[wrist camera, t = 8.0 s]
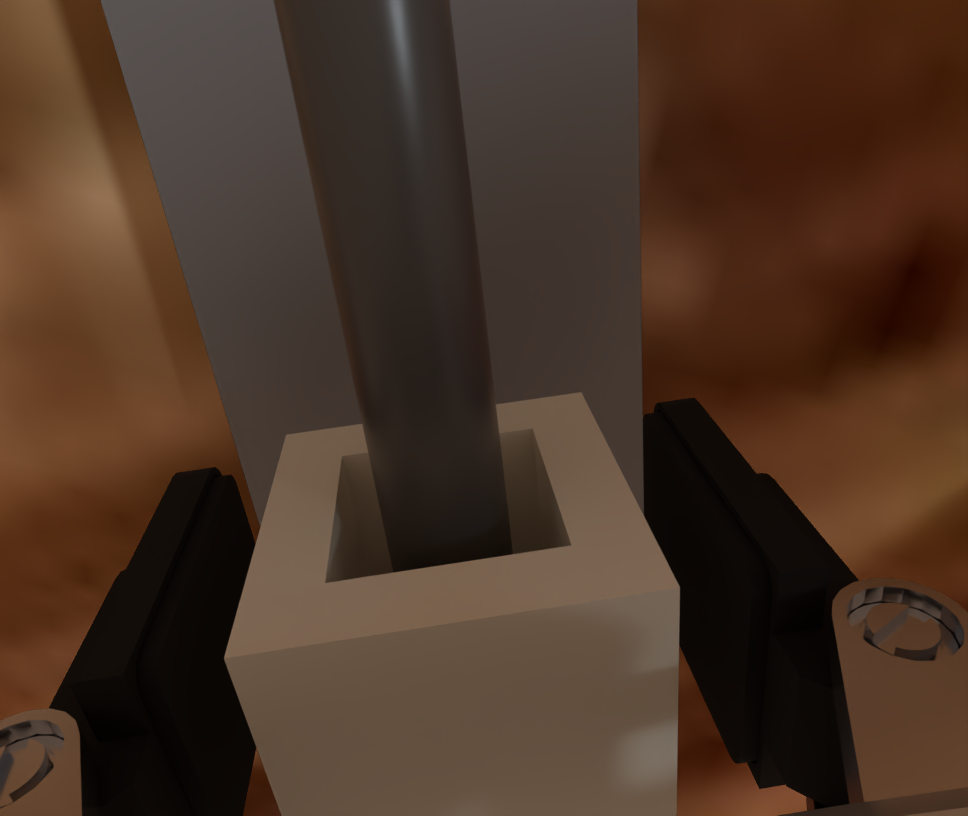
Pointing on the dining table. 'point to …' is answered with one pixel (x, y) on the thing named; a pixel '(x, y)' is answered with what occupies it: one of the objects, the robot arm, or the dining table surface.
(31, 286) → the dining table surface
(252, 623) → the sleeve
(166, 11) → the linear slide rail
